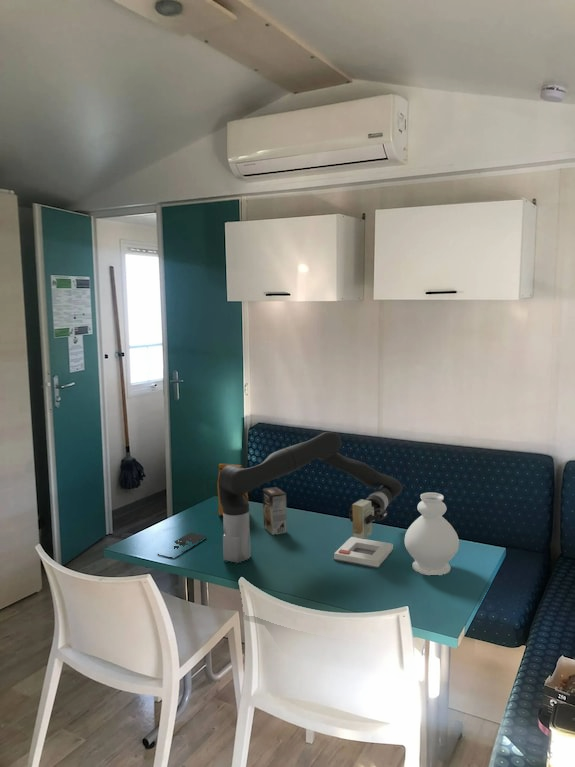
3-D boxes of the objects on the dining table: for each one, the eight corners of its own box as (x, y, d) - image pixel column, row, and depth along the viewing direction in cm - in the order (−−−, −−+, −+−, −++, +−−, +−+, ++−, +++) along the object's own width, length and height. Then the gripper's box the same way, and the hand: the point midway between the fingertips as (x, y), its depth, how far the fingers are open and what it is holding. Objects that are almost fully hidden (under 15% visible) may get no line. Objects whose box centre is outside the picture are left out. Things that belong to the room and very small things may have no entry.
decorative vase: (394, 561, 221) (394, 491, 217) (438, 552, 227) (439, 484, 223) (423, 583, 204) (423, 508, 200) (469, 573, 210) (471, 500, 206)
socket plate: (378, 568, 216) (378, 559, 215) (334, 560, 223) (334, 551, 222) (392, 550, 230) (392, 542, 229) (351, 543, 237) (351, 535, 236)
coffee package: (241, 520, 262) (239, 468, 259) (215, 517, 267) (213, 466, 264) (252, 512, 271) (250, 462, 268) (226, 509, 276) (224, 459, 273)
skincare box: (361, 531, 229) (361, 498, 227) (372, 533, 227) (372, 500, 225) (352, 537, 224) (351, 503, 222) (362, 539, 222) (362, 506, 220)
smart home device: (156, 551, 231) (189, 532, 248) (156, 555, 231) (190, 536, 249) (174, 555, 227) (207, 535, 244) (174, 560, 227) (207, 539, 245)
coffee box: (263, 527, 254) (261, 488, 252) (278, 524, 257) (276, 486, 254) (272, 535, 246) (271, 495, 244) (287, 532, 249) (286, 492, 246)
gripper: (357, 492, 240) (339, 507, 225) (394, 497, 233) (378, 513, 218) (357, 511, 241) (340, 527, 226) (394, 516, 234) (379, 533, 219)
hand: (359, 520), depth 222 cm, fingers closed on skincare box, 5 cm apart
